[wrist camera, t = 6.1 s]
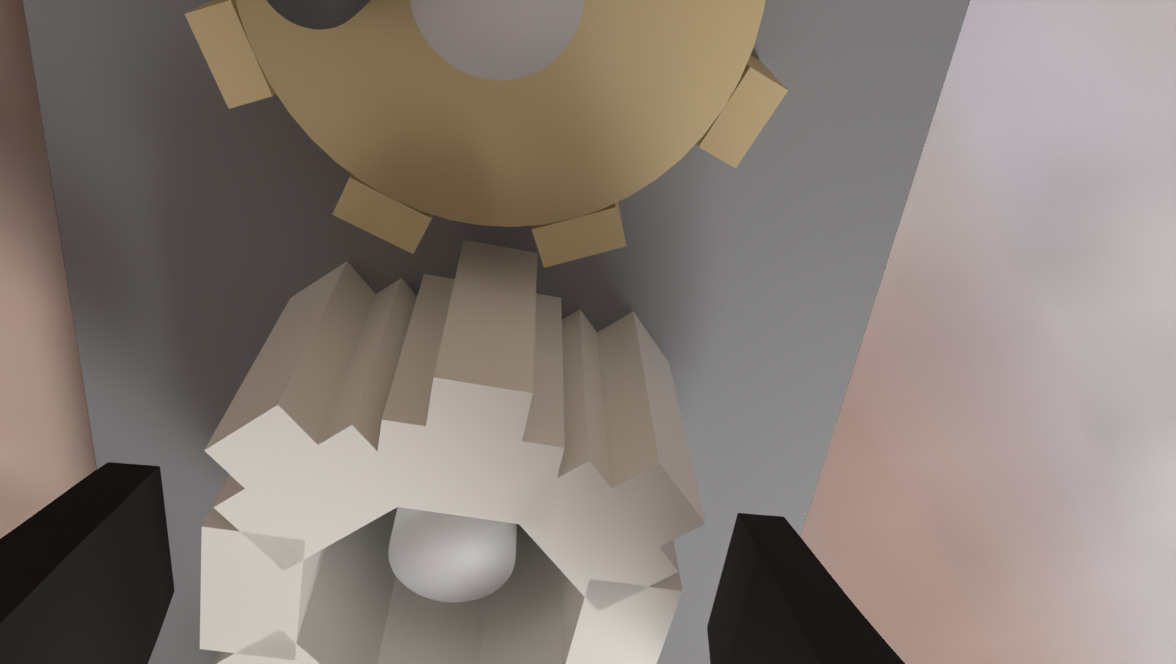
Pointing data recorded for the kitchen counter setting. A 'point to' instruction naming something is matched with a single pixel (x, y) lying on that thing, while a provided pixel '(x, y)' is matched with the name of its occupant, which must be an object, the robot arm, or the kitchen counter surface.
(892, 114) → the gear board
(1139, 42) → the kitchen counter surface
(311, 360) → the loose gear
